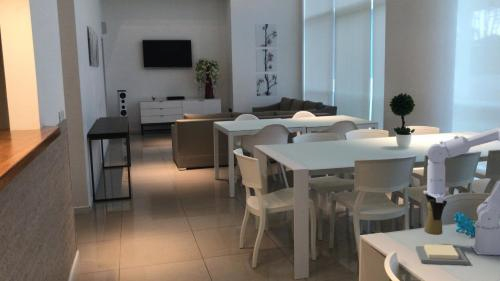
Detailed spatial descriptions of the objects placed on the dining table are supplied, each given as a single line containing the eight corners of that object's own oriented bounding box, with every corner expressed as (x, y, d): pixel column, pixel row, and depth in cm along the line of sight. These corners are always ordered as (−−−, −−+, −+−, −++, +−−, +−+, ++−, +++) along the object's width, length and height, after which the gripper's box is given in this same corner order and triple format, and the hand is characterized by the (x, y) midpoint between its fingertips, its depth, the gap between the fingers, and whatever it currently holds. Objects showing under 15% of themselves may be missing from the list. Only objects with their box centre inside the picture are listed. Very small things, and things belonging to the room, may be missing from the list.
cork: (421, 228, 169) (423, 199, 167) (437, 228, 170) (440, 198, 168) (428, 235, 163) (431, 204, 161) (445, 234, 164) (448, 204, 162)
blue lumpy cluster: (466, 235, 171) (452, 211, 177) (455, 243, 175) (441, 220, 180) (485, 233, 177) (470, 210, 182) (473, 241, 181) (459, 218, 186)
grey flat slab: (458, 250, 161) (459, 243, 161) (468, 265, 150) (468, 257, 149) (415, 249, 164) (415, 242, 164) (421, 263, 152) (421, 255, 152)
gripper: (420, 174, 171) (420, 210, 173) (427, 183, 157) (426, 223, 159) (441, 174, 170) (440, 211, 172) (450, 184, 156) (449, 224, 158)
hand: (435, 217), depth 165 cm, fingers closed on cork, 5 cm apart
